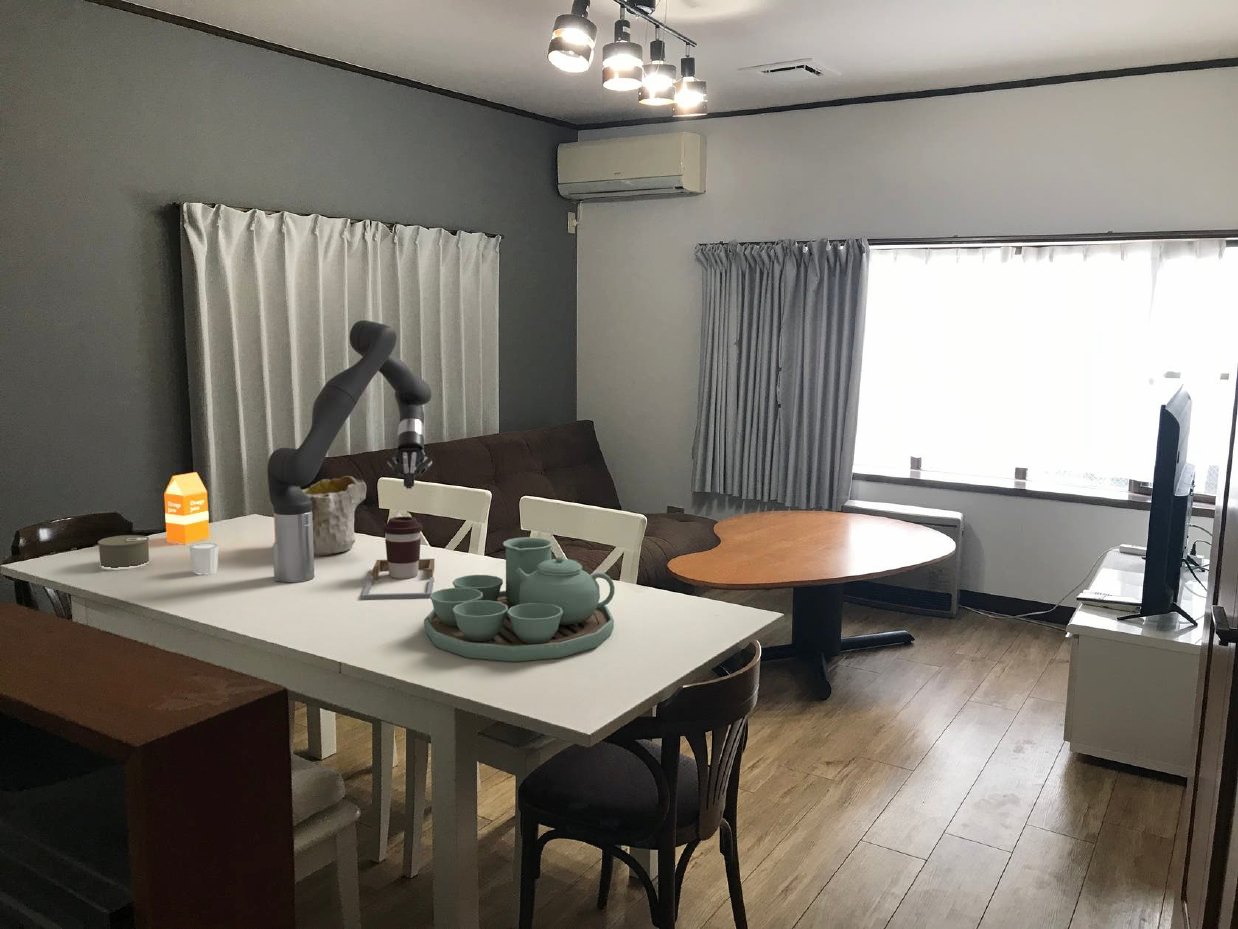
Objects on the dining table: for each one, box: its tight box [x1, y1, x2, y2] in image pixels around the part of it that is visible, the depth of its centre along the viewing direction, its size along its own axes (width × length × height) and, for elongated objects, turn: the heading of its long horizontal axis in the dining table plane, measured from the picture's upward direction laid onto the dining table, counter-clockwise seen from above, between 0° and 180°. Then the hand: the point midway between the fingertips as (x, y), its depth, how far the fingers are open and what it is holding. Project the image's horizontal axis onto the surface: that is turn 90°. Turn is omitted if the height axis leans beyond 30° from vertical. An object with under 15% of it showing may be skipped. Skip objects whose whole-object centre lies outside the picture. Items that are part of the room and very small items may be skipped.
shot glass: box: [189, 543, 219, 574], centre depth 248 cm, size 7×7×7 cm
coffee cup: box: [382, 516, 423, 580], centre depth 246 cm, size 10×10×15 cm
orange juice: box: [163, 471, 210, 544], centre depth 282 cm, size 8×9×20 cm
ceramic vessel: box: [301, 475, 367, 557], centre depth 272 cm, size 23×24×25 cm
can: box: [97, 534, 150, 568], centre depth 254 cm, size 12×12×7 cm
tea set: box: [423, 536, 615, 663], centre depth 204 cm, size 40×40×16 cm
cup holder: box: [371, 558, 435, 581], centre depth 249 cm, size 15×12×2 cm
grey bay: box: [361, 576, 435, 600], centre depth 234 cm, size 16×15×1 cm
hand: (408, 486), depth 267 cm, fingers closed
